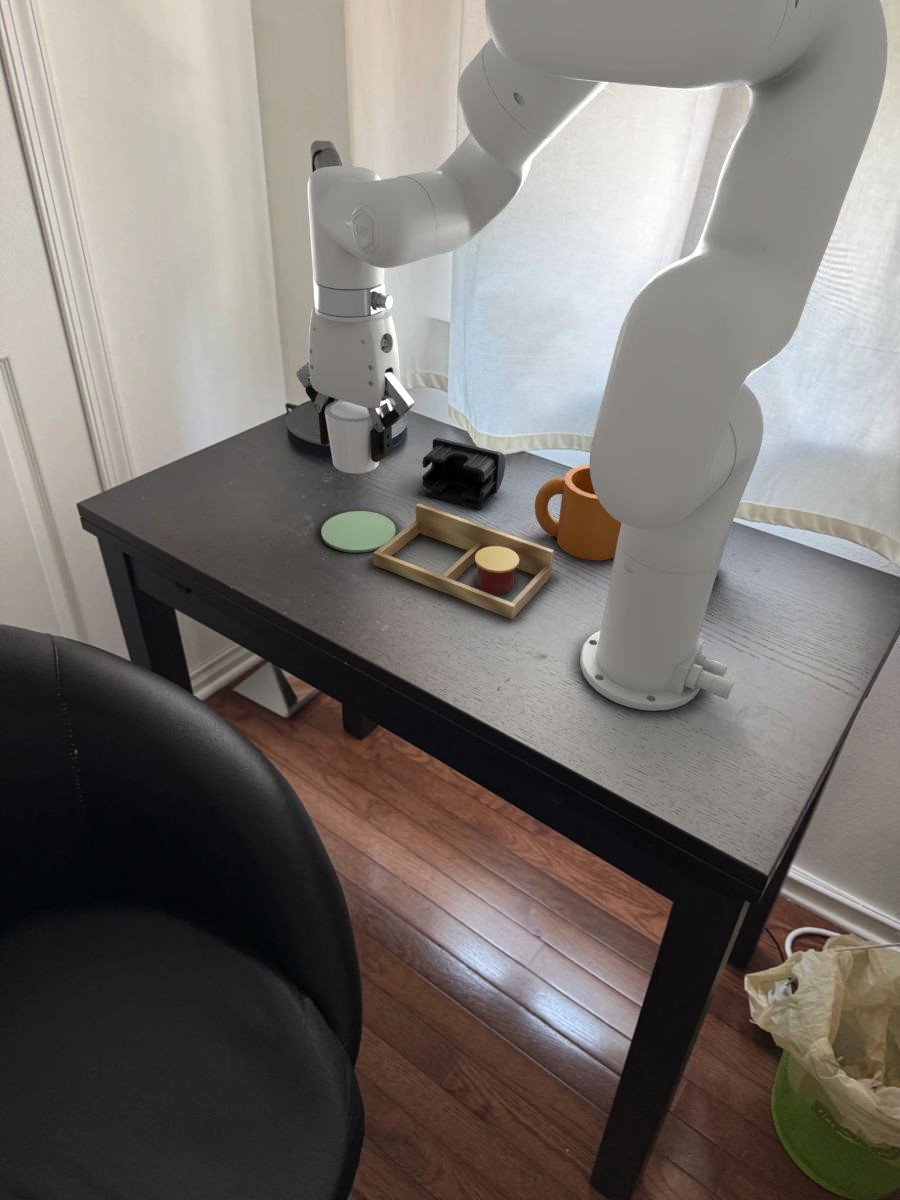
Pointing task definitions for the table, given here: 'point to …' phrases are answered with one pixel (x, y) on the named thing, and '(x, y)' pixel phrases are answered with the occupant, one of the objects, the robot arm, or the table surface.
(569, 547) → the mug
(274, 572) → the table surface
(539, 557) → the pod caddy
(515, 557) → the coffee pod
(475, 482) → the end cap
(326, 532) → the coaster
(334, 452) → the shot glass
